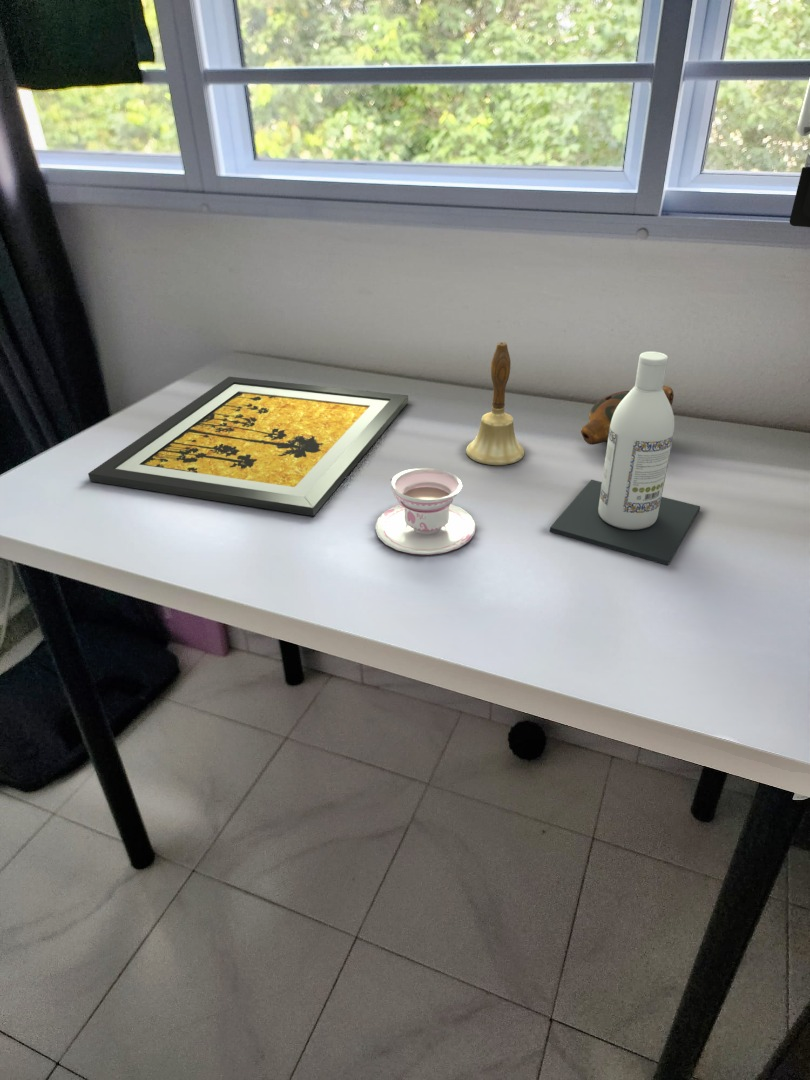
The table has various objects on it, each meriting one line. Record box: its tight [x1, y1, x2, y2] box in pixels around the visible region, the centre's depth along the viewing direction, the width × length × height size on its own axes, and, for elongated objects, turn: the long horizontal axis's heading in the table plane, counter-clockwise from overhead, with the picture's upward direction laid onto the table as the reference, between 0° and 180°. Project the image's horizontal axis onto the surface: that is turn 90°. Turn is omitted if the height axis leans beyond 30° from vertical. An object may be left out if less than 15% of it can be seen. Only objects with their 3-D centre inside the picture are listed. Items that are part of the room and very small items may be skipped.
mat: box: [549, 479, 701, 566], centre depth 91 cm, size 14×14×1 cm
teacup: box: [374, 467, 476, 556], centre depth 88 cm, size 12×12×6 cm
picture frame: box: [87, 376, 409, 517], centre depth 112 cm, size 38×1×33 cm
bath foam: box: [598, 350, 675, 530], centre depth 85 cm, size 7×7×20 cm
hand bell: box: [465, 341, 525, 466], centre depth 103 cm, size 8×8×16 cm
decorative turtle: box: [580, 385, 675, 445], centre depth 107 cm, size 10×15×8 cm, turn 122°
